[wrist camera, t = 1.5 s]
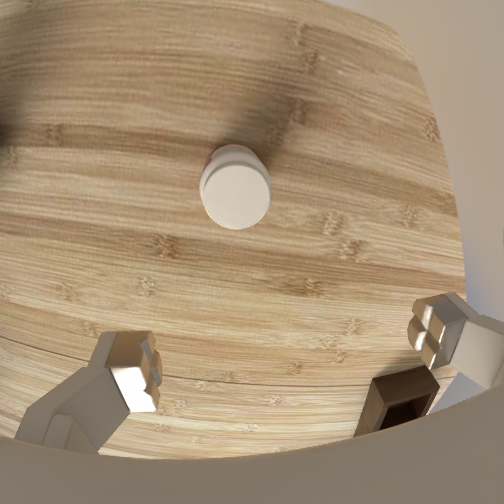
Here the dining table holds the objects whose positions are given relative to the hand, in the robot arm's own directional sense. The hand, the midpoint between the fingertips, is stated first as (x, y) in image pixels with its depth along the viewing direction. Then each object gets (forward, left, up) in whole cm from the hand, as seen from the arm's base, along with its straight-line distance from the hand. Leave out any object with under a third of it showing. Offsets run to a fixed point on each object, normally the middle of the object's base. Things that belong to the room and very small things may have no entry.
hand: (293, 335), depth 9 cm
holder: (-20, +35, -19) cm, 45 cm away
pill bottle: (+1, -1, -20) cm, 20 cm away
